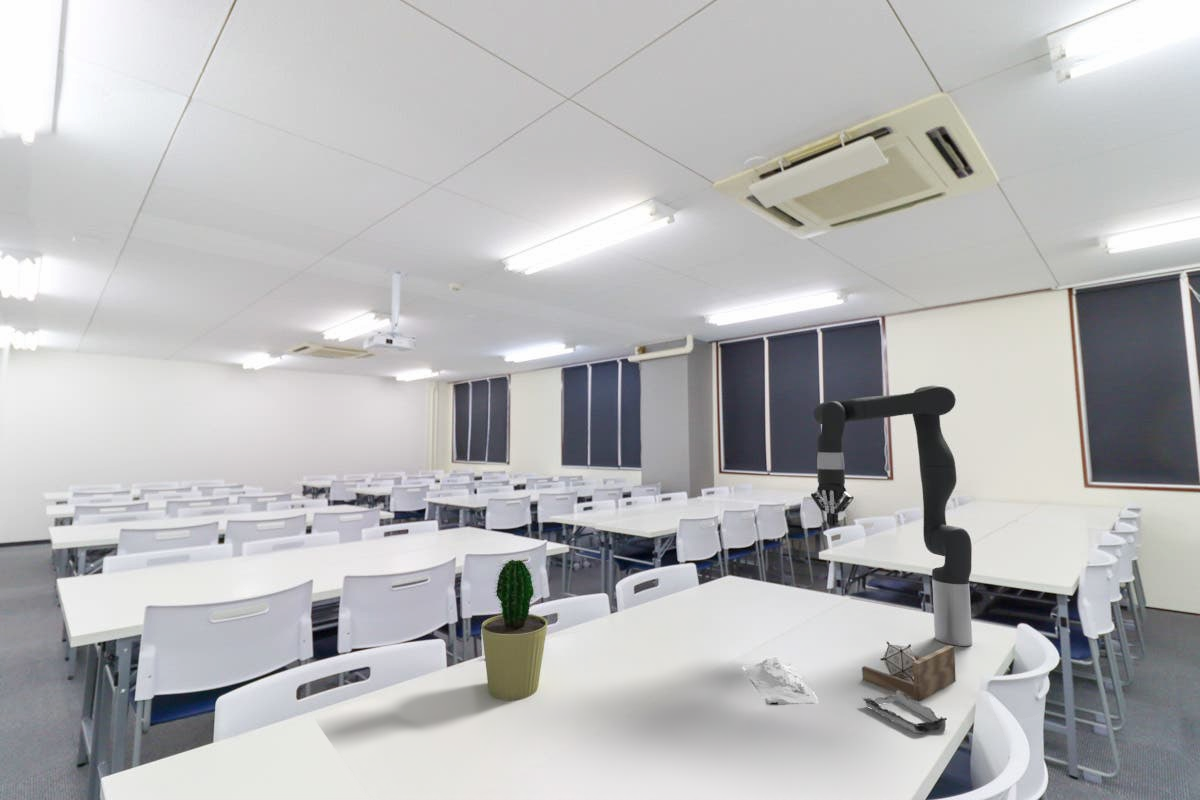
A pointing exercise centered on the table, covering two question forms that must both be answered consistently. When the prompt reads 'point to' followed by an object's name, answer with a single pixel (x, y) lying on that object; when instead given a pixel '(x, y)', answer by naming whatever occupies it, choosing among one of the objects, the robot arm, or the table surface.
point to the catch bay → (919, 675)
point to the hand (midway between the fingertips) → (832, 525)
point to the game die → (899, 661)
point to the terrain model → (779, 683)
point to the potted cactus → (514, 637)
